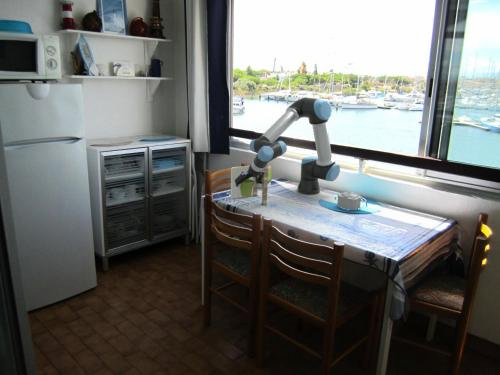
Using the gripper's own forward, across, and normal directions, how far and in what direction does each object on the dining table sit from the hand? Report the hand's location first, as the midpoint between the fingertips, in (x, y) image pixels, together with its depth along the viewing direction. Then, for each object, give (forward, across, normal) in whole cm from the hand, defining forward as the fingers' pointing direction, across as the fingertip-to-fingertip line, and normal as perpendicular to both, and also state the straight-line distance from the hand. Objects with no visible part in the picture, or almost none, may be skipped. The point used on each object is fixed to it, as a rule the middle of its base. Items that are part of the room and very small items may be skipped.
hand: (243, 187), depth 241 cm
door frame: (+8, +12, -5) cm, 16 cm away
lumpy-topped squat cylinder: (-15, +54, -29) cm, 63 cm away
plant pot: (+1, 0, -5) cm, 5 cm away
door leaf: (+14, +4, +1) cm, 15 cm away
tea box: (+27, +26, +14) cm, 40 cm away
